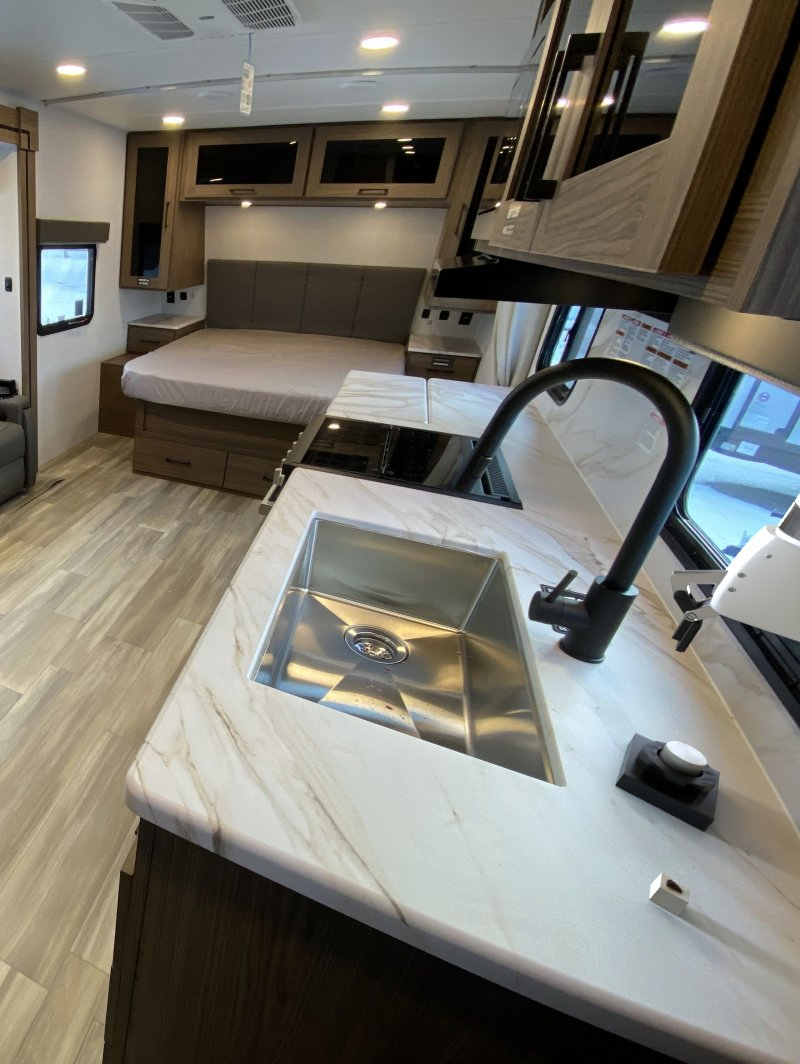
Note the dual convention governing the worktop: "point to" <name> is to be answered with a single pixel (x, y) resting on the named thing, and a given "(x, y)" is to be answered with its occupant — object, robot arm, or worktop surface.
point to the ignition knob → (683, 758)
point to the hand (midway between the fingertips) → (739, 669)
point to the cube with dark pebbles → (669, 894)
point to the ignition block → (668, 784)
